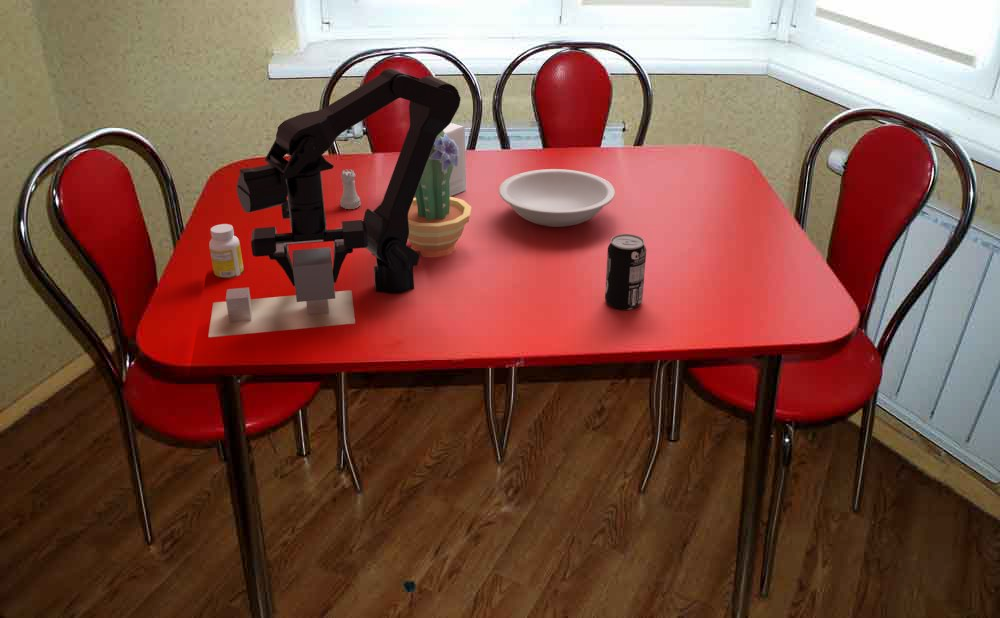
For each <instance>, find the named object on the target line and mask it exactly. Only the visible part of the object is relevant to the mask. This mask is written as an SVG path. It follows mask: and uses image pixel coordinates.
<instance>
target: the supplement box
mask: <svg viewBox="0 0 1000 618" xmlns="http://www.w3.org/2000/svg"><path fill="white" fill-rule="evenodd" d="M465 129H466V127H465V126H462V125H461V124H460V125H459V124H456V123H454V122H453V123H452V122H451V123H450V124H449V125H448V126H447V127H446V128H445V129H444V130H443V131H444V132H445V133H446V135H447V136H448V137H449V138H450V139H451V140H454V142H455V144H456V145H457V146H458V148H459V150H458V151H459V155H457V157H458V166H457V167H456V166H455V165H453V170H452V173H451V176H450V179H449V186H450V197H453V196H455V195H458V194H461V193H462V192H465V191H467V171H466V168H467V165H466V163H467V162H466V132H465V131H466V130H465Z"/></svg>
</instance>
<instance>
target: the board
mask: <svg viewBox="0 0 1000 618" xmlns="http://www.w3.org/2000/svg"><path fill="white" fill-rule="evenodd" d="M250 299H251V298H250ZM353 300H354V299H353V292H352V290H338V291H335V299H328V304H329V314H318V315H308V312H307V303H306V301H303V302H297V300H296V294H294V295H285V296H274V297H263V298H261V297H260V298H252V299H251V305H252V321H243V322H233V323H230V322H229V316H228V310H227V303H226V301H215V302H212V309H211V317H210V322H209V329H208V338H216V337H218V338H219V337H226V336H227V337H228V336H237V335H246V334H256V333H257V334H259V333H269V332H279V331H281V332H282V331H288V330H290V331H291V330H298V329H299V330H301V329H311V328H320V327H321V328H322V327H331V326H332V327H333V326H341V325H353V324H354V325H355V324H356V319H355V318H356V317H355V309H354V302H353Z"/></svg>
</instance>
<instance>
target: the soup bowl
mask: <svg viewBox="0 0 1000 618" xmlns="http://www.w3.org/2000/svg"><path fill="white" fill-rule="evenodd" d="M498 194H499V197H500V198H501V199H502V201H504V202H505V203H507V204H508V205H510V207H511V208H512V209H513V211H514V212H515V213H516V214H518V216H520V217H521V218H523V219H525V220H526V221H528V222H530V223H533V224H537V225H540V226H544V227H552V228H553V227H559V228H560V227H561V228H562V227H570V226H574V225H579V224H582V223H584V222H586V221H589V220H590V219H591V218H593V217H595V216H596V215H597V214H598V213H600V211H601V210H602V209H603V208H604V207H605V206H606V205H608V204H610V203H611V202H612V201H613V200H614V198H615V196H616V190H615V187H614V186H613V185H612V183H610V182H609V181H608V180H607V179H604V178H602V177H601V176H598V175H596V174H592V173H589V172H585V171H580V170H573V169H563V168H562V169H561V168H549V169H547V168H545V169H535V170H529V171H525V172H521V173H517V174H515V175H512V176H510V177H508V178H506V179H505V180H503V181H502V183H501V184H500V185H499V188H498Z"/></svg>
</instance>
